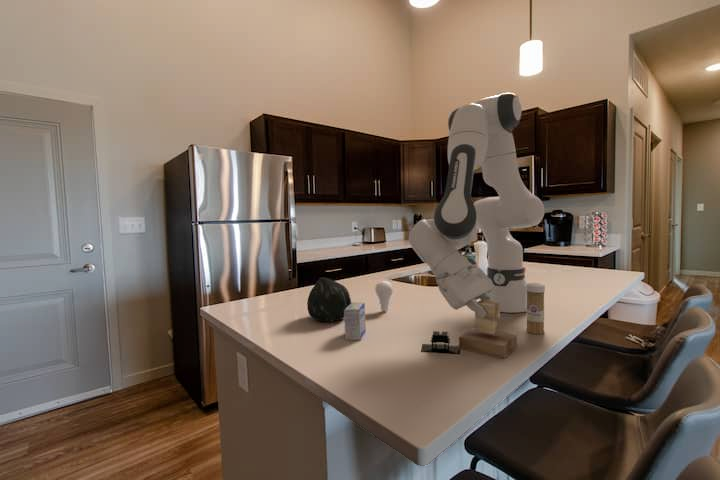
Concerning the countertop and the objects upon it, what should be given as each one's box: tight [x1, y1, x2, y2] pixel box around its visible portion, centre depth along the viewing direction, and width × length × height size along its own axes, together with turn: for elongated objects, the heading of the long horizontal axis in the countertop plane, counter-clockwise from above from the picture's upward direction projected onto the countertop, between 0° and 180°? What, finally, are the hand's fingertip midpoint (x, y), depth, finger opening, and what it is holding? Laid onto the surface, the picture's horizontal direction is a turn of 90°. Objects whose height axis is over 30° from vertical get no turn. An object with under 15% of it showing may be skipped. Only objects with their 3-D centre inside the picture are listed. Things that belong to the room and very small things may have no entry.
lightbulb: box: [374, 280, 394, 313], centre depth 122 cm, size 6×6×11 cm
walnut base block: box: [458, 326, 518, 360], centre depth 87 cm, size 9×11×3 cm
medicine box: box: [343, 302, 367, 341], centre depth 99 cm, size 8×4×9 cm, turn 168°
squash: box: [306, 277, 352, 323], centre depth 116 cm, size 14×15×15 cm
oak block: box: [474, 299, 501, 334], centre depth 87 cm, size 4×4×7 cm
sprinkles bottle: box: [525, 282, 546, 335], centre depth 97 cm, size 5×5×14 cm
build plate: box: [420, 331, 461, 355], centre depth 87 cm, size 12×7×5 cm, turn 76°
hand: (490, 313), depth 86 cm, fingers closed on oak block, 4 cm apart
